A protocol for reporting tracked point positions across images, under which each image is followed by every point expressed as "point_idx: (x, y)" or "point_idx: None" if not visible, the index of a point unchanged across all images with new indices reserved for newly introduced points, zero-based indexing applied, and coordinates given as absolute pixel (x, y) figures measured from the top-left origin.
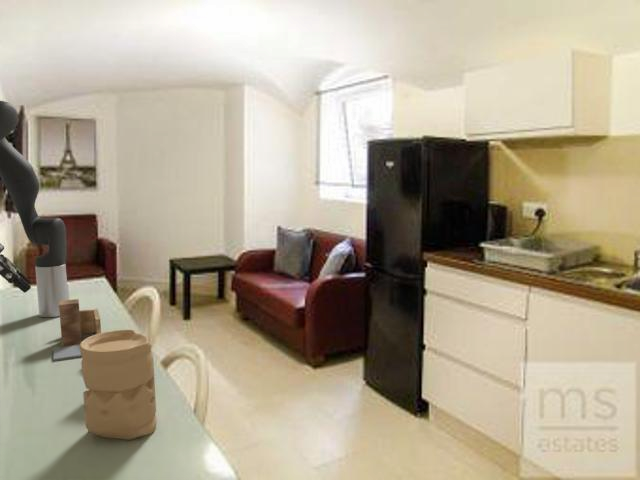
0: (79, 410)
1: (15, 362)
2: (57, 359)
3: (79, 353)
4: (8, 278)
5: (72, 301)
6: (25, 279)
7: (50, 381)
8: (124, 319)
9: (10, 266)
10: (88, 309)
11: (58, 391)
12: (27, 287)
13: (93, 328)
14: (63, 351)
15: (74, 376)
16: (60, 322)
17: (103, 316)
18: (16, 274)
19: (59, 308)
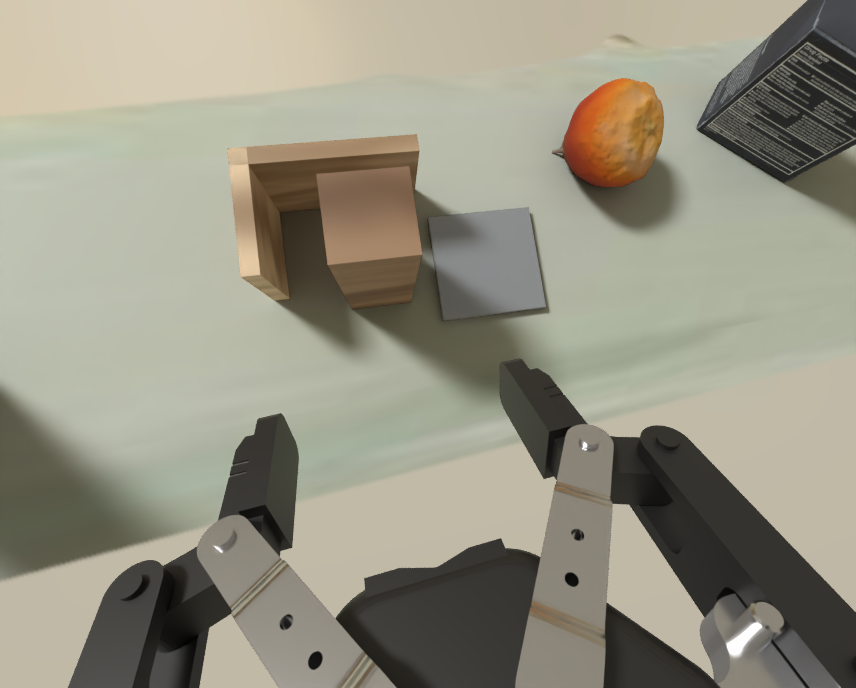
0: (853, 213)
1: None
2: (542, 296)
3: (518, 239)
4: (648, 515)
5: (362, 198)
6: (280, 447)
7: (688, 293)
8: (142, 116)
9: (604, 567)
10: (231, 186)
11: (752, 266)
12: (542, 376)
13: (275, 210)
14: (484, 287)
15: (670, 240)
16: (415, 279)
17: (54, 192)
18: (610, 462)
19: (420, 259)
